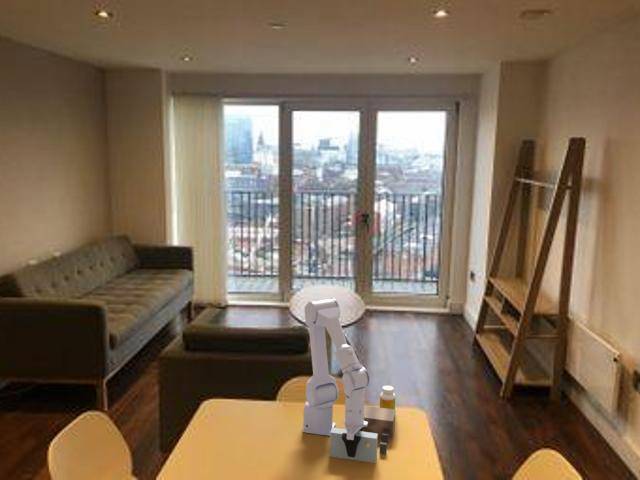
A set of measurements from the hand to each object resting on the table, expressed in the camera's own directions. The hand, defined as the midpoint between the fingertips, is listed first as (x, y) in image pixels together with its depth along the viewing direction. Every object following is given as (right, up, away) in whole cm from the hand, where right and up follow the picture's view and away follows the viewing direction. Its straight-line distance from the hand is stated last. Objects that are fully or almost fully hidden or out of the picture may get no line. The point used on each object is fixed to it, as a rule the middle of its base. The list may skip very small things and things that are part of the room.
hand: (353, 449), depth 166 cm
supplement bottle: (+13, +2, +27) cm, 30 cm away
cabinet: (+6, 0, +12) cm, 13 cm away
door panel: (0, -3, 0) cm, 3 cm away
